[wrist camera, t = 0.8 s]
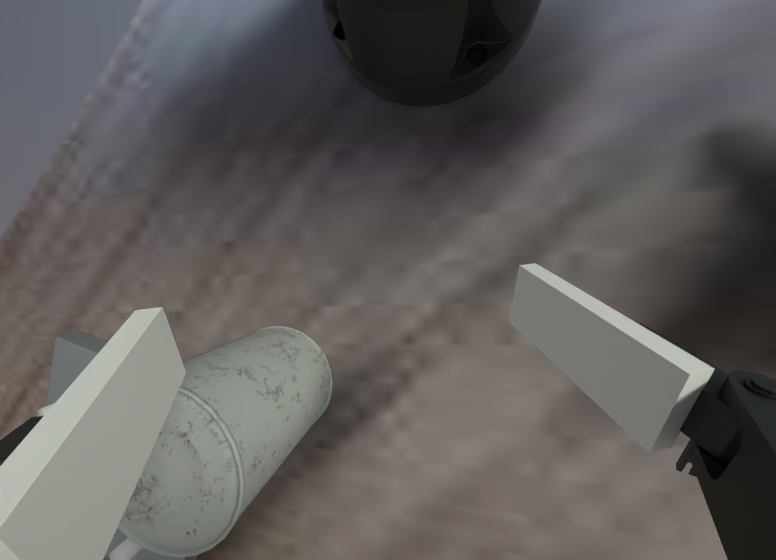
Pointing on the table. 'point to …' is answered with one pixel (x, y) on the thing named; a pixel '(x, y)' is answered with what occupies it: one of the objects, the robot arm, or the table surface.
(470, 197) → the table surface
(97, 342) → the stub board
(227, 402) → the grey marbled cylinder
